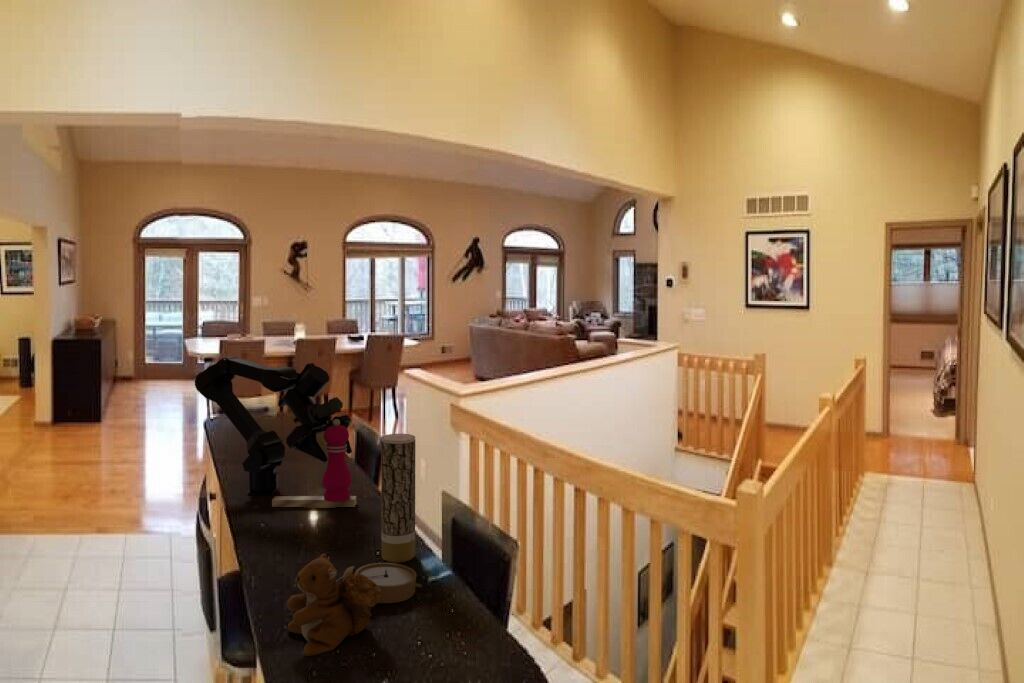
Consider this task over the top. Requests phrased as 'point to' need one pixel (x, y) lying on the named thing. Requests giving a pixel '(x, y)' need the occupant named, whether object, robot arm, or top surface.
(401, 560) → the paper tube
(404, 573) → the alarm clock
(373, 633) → the top surface
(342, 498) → the pepper mill
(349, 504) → the flat beige strip
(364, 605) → the stuffed squirrel
